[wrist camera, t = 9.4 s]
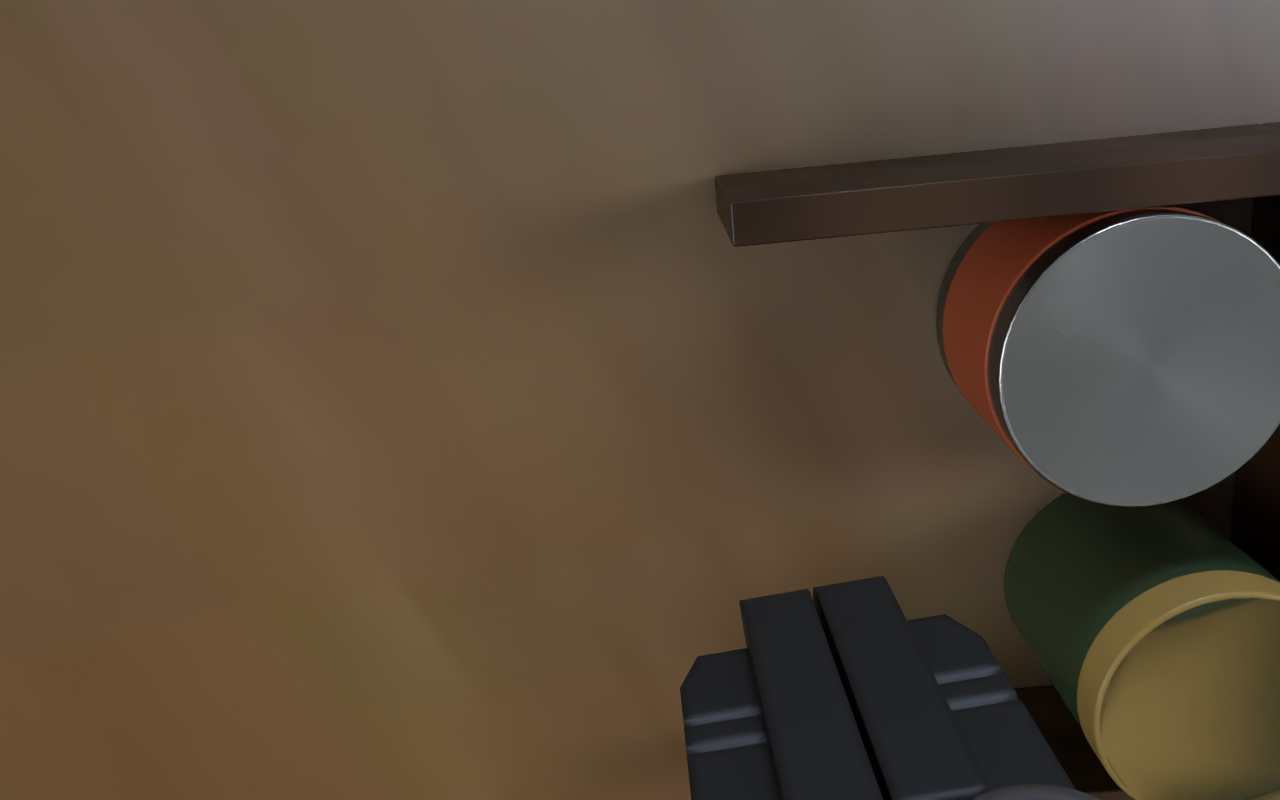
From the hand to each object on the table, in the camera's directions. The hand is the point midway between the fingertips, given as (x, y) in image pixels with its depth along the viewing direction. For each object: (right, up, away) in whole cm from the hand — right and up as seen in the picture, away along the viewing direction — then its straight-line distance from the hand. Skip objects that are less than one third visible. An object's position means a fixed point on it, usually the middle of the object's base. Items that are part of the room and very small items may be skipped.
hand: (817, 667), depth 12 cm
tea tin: (+12, -2, +21) cm, 24 cm away
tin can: (+10, +5, +19) cm, 22 cm away
